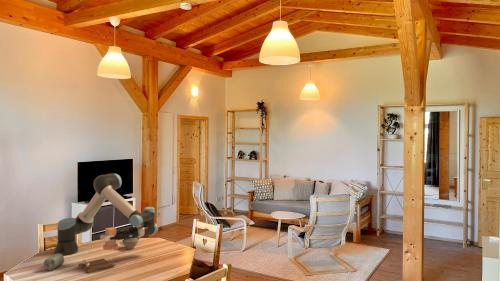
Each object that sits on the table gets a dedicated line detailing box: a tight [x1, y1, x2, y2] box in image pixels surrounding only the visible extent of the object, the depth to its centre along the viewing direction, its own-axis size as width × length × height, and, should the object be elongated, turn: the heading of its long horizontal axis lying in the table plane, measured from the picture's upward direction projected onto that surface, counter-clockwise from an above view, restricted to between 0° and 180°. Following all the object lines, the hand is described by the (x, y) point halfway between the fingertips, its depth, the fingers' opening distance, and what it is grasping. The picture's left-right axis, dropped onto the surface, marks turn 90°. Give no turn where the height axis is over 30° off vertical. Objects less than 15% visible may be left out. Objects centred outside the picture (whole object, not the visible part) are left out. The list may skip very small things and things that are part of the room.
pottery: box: [121, 237, 141, 250], centre depth 277 cm, size 11×25×12 cm, turn 7°
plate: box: [78, 258, 115, 274], centre depth 231 cm, size 16×16×2 cm
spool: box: [43, 253, 65, 271], centre depth 228 cm, size 14×10×10 cm
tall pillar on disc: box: [102, 226, 119, 251], centre depth 234 cm, size 9×9×12 cm
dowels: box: [81, 260, 90, 269], centre depth 227 cm, size 8×2×3 cm, turn 45°
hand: (102, 238), depth 230 cm, fingers closed on tall pillar on disc, 5 cm apart
